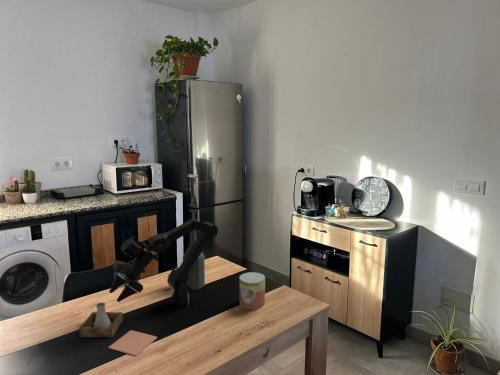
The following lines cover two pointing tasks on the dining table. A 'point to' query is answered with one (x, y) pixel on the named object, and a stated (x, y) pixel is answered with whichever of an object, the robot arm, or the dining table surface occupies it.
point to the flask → (102, 317)
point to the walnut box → (101, 331)
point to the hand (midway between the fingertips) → (113, 296)
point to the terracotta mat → (133, 343)
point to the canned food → (252, 290)
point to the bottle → (196, 267)
